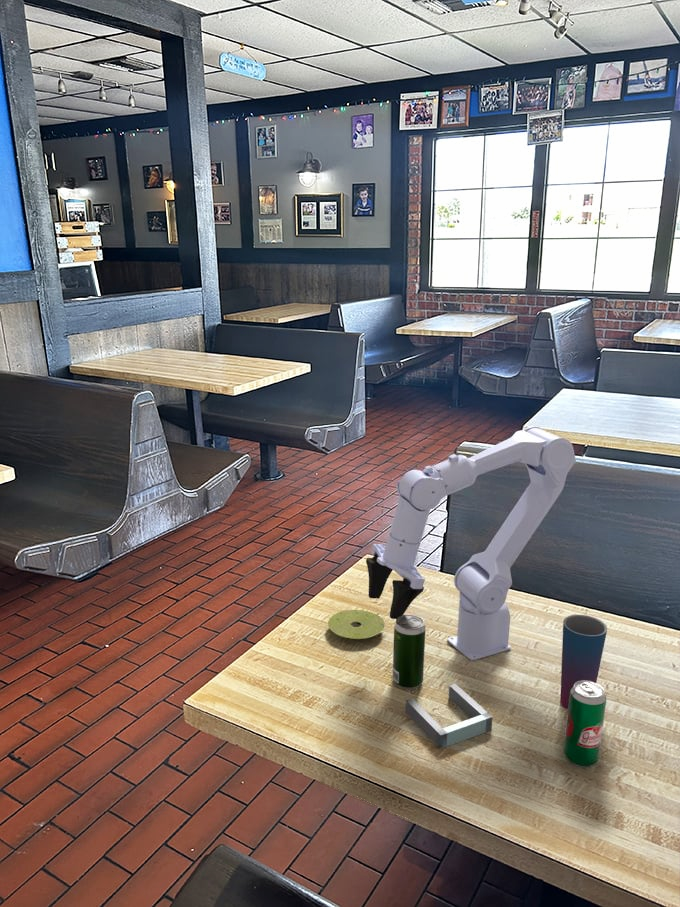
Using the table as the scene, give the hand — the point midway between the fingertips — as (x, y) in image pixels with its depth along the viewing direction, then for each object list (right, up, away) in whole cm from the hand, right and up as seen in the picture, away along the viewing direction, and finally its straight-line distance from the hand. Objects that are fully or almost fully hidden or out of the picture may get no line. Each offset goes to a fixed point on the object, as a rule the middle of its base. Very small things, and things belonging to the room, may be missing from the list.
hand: (384, 607), depth 128 cm
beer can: (+4, -13, -2) cm, 14 cm away
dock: (+10, -16, -13) cm, 22 cm away
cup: (+32, -15, -8) cm, 36 cm away
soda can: (+28, -18, -20) cm, 40 cm away
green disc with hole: (-5, -8, +14) cm, 17 cm away
